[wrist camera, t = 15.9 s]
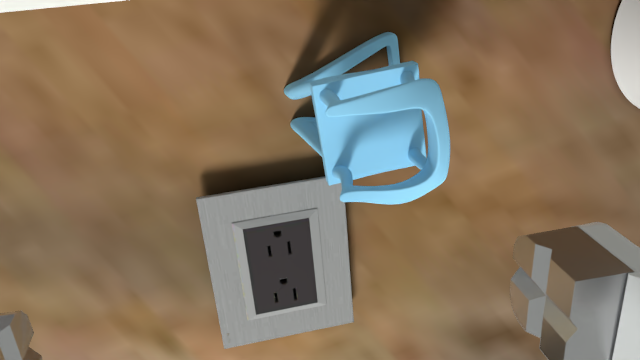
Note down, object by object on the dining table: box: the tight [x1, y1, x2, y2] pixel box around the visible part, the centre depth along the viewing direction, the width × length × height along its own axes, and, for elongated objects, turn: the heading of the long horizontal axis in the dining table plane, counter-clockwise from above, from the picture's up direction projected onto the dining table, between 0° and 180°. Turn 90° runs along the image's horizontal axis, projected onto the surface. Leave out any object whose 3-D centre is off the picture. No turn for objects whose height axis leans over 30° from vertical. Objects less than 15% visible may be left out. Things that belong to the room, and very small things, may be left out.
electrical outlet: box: [196, 176, 354, 349], centre depth 45 cm, size 13×10×2 cm
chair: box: [284, 32, 450, 204], centre depth 36 cm, size 8×8×12 cm
